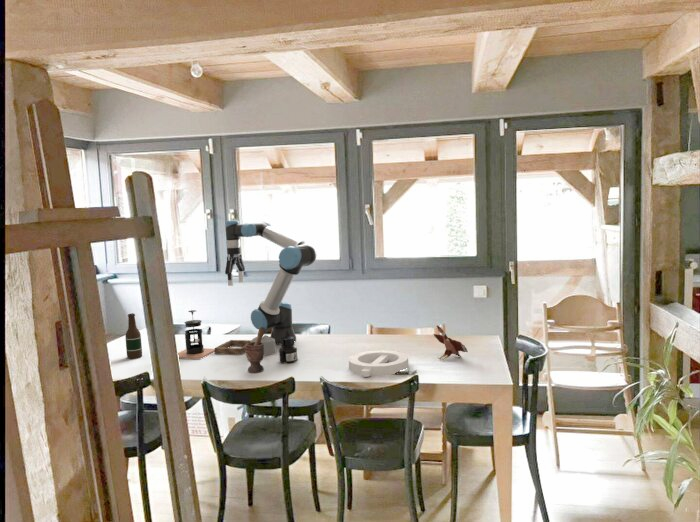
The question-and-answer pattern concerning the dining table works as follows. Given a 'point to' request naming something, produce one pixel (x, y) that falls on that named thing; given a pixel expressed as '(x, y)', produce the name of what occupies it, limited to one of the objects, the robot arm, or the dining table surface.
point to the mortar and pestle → (255, 353)
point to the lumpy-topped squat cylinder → (267, 344)
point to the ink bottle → (288, 350)
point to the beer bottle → (133, 339)
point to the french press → (196, 347)
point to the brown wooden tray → (226, 350)
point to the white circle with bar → (378, 363)
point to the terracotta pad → (200, 355)
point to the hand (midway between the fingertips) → (236, 283)
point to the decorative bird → (449, 344)
